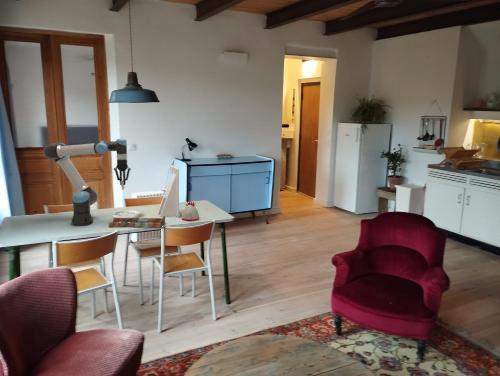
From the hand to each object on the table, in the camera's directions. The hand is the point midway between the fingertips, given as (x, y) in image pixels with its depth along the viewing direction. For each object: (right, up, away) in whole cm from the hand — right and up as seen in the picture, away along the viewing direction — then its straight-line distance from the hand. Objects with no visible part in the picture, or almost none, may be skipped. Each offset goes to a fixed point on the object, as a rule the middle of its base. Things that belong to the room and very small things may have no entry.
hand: (122, 189), depth 317 cm
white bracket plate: (+30, -22, +21) cm, 43 cm away
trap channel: (+13, -27, -9) cm, 31 cm away
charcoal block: (+18, -27, -8) cm, 34 cm away
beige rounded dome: (+51, -25, +12) cm, 58 cm away
